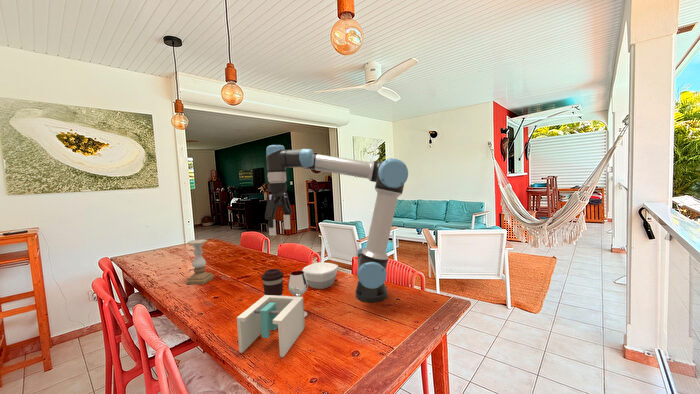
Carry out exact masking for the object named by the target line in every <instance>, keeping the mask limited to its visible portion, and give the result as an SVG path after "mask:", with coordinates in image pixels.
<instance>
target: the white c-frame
mask: <svg viewBox="0 0 700 394" xmlns="http://www.w3.org/2000/svg"><path fill="white" fill-rule="evenodd" d="M270 302H273V303H276V311H271V312H270V313H269V314H273V315H277V316H276V317H275V318H274V319H273V324H277V329H278V346H279V358H284V357H285V355H287V353H288V352H289V350H290V349H291V348H292V346H293V345H294V343H295V342H296V341H297V339H298V338H299V336H301V334H302V332H303V331H304V329H305V328H306V325H305V323H306V321H305V317H304V311H305V308H304V307H305V306H304V305H305V303H304V297H303V296H301V297H296V296H294V295H292V296H290V295H282V296H275V295H265V294H264V295H263V296H262V297H260V298H259V299H258V300H257V301H256V302H255V303H253V304H251V306H249V307H248V308H247V309H245V310H244V311H243V312H242V313H240V314H239V315H238V316H237V317H236V325H237V338H238V339H237V340H238V352H239V353H241V354H243V353H245V351H246V350H247V349H248V348H249V347H250V346H251V345H252V344H253V343H254V342H255V341H256V340H257V338H258V337H259V336H261V320H260V310H261V309H262V308H264V307H265V306H266V305H267V304H268V303H270Z"/></svg>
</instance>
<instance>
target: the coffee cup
mask: <svg viewBox="0 0 700 394" xmlns="http://www.w3.org/2000/svg"><path fill="white" fill-rule="evenodd" d="M283 278H284V272H283V271H281V269H278V268H270V269H267V270H265V271H264V273H263V274H261V280H262V286H263V294H264V295H275V296H283V294H284V291H283V290H284V280H283Z"/></svg>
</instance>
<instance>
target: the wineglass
mask: <svg viewBox="0 0 700 394" xmlns="http://www.w3.org/2000/svg"><path fill="white" fill-rule="evenodd" d="M308 287H309V286H308V283H307V279H306V276H305V273H304V272H303V271H302V270H295V271H291V272H290V273H289V278H288V284H287V289H288V292H289V293H290V294H291V295H292V296H293V297H303V295H304V294H305V293H306V292H307V290H308ZM307 316H308V312H307V311H305V310H304V318H306V317H307Z"/></svg>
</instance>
